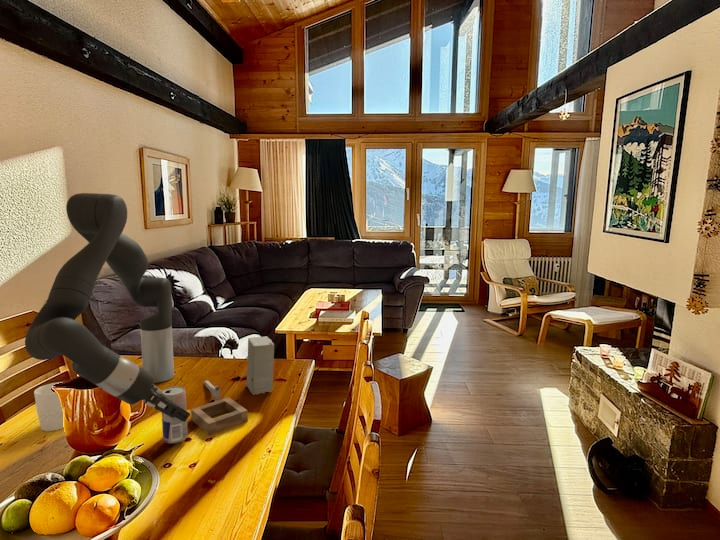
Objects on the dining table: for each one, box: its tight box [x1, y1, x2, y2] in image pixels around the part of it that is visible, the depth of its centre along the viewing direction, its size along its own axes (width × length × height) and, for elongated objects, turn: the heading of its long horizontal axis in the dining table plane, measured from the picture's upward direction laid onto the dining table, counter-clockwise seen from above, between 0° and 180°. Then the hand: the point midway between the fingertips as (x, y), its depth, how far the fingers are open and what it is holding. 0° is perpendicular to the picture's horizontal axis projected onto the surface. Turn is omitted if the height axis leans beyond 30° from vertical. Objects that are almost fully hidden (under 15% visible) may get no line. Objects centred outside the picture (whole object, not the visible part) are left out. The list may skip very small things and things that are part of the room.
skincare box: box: [246, 335, 275, 396], centre depth 131 cm, size 8×7×16 cm
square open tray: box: [190, 397, 249, 436], centre depth 112 cm, size 11×11×3 cm
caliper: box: [204, 380, 221, 402], centre depth 127 cm, size 20×1×6 cm, turn 30°
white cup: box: [33, 381, 64, 432], centre depth 108 cm, size 8×8×10 cm
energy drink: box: [161, 385, 188, 444], centre depth 100 cm, size 5×5×12 cm
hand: (181, 413), depth 102 cm, fingers closed on energy drink, 5 cm apart
